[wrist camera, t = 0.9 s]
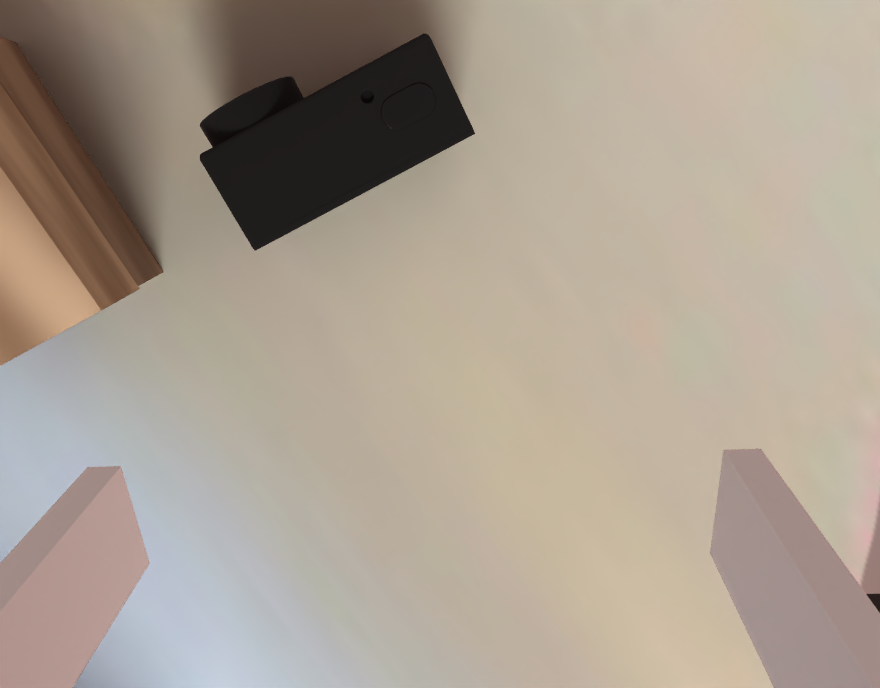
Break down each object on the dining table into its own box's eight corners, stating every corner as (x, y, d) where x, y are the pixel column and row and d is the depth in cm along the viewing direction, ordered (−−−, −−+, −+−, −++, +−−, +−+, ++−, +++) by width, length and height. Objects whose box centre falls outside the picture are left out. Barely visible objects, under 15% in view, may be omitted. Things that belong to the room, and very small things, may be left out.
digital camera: (406, 32, 32) (416, -1, 26) (456, 137, 34) (478, 132, 27) (218, 134, 33) (179, 127, 26) (276, 233, 34) (253, 251, 28)
